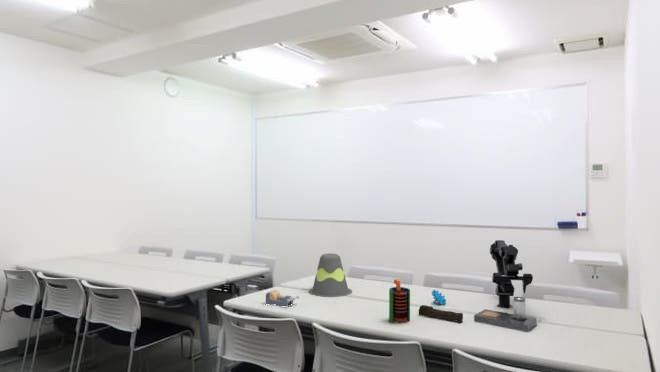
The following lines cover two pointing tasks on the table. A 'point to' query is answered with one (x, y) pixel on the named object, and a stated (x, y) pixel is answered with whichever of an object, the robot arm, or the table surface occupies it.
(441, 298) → the gear
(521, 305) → the steel plug
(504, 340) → the table surface
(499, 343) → the table surface
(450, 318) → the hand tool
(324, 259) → the traffic cone
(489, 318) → the plate
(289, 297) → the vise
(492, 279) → the robot arm
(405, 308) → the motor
